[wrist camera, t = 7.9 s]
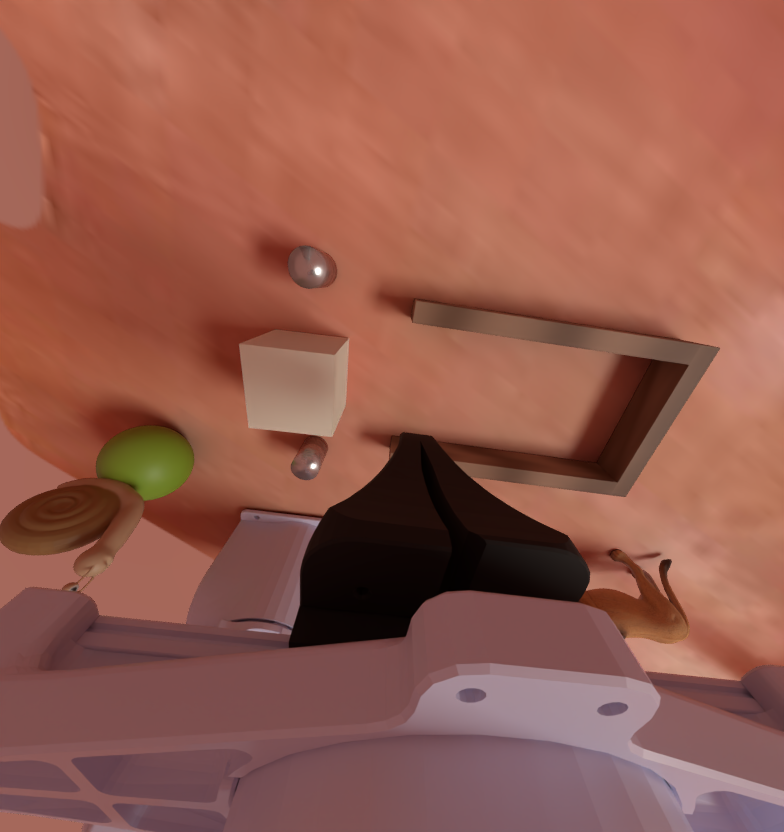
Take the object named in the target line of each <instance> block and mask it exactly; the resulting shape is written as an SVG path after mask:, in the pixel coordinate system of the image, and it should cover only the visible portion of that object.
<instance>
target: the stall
mask: <svg viewBox="0 0 784 832" xmlns="http://www.w3.org/2000/svg"><path fill="white" fill-rule="evenodd" d="M411 320H412V323H417V324H424V325H430V326H437V327H443V328H450V329H457V330H463V331H470V332H476V333H483V334H490V335H496V336H503V337H509V338H516V339H523V340H529V341H536V342H542V343H549V344H556V345H562V346H569V347H575V348H582V349H589V350H595V351H602V352H608V353H615V354H622V355H628V356H635V357H641V358H648V359H653V361H652V362H651V364H650V366H649V368H648V370H647V372H646V373H645V375H644V377H643V379H642V381H641V383H640V384H639V386H638V388H637V390H636V392H635V394H634V395H633V397H632V399H631V401H630V403H629V405H628V406H627V408H626V410H625V412H624V414H623V416H622V417H621V419H620V421H619V423H618V425H617V427H616V428H615V430H614V432H613V434H612V436H611V438H610V439H609V441H608V443H607V445H606V447H605V449H604V450H603V452H602V454H601V456H600V458H599V460H598V461H597V463H592V462H585V461H577V460H570V459H563V458H555V457H548V456H540V455H533V454H525V453H518V452H510V451H503V450H496V449H488V448H481V447H473V446H466V445H458V444H451V443H443V442H437V443H438V444H439V445H440V446H441V447H442V449H443V450H444V451H445V452H446V453H447V454H448V456H449V457H450V458H451V459H452V460H453V461H454V462H455V463H456V464H457V465H458V466H459V467H460V468H461V469H462V470H463V471H464V472H465V473H466V474H467V475H468V476H469V477H475V478H482V479H490V480H498V481H505V482H513V483H521V484H529V485H536V486H544V487H552V488H559V489H567V490H575V491H583V492H590V493H598V494H606V495H613V496H621V497H626V495H627V494H628V492H629V491H630V489H631V488H632V486H633V484H634V483H635V481H636V480H637V478H638V477H639V475H640V473H641V472H642V470H643V469H644V467H645V466H646V464H647V462H648V461H649V459H650V458H651V456H652V455H653V453H654V451H655V450H656V448H657V447H658V445H659V444H660V442H661V440H662V439H663V437H664V436H665V434H666V433H667V431H668V430H669V428H670V426H671V425H672V423H673V422H674V420H675V419H676V417H677V415H678V414H679V412H680V411H681V409H682V408H683V406H684V404H685V403H686V401H687V400H688V398H689V397H690V395H691V393H692V392H693V390H694V389H695V387H696V386H697V384H698V383H699V381H700V379H701V378H702V376H703V375H704V373H705V372H706V370H707V368H708V367H709V365H710V364H711V362H712V361H713V359H714V357H715V356H716V354H717V353H718V351H719V350H720V348H718V347H714V346H709V345H704V344H699V343H694V342H689V341H684V340H679V339H672V338H666V337H659V336H653V335H646V334H640V333H633V332H627V331H621V330H614V329H608V328H601V327H595V326H588V325H582V324H575V323H569V322H563V321H556V320H550V319H543V318H537V317H530V316H524V315H517V314H511V313H505V312H498V311H492V310H485V309H479V308H472V307H466V306H459V305H453V304H447V303H440V302H434V301H427V300H421V299H414V301H413V308H412V314H411ZM399 439H400V437H399V436H392V437H391V443H390V452H389V460H390V458H391V457H392V455H393V454H394V452H395V450H396V448H397V446H398V444H399Z"/></svg>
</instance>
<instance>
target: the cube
mask: <svg viewBox="0 0 784 832" xmlns="http://www.w3.org/2000/svg"><path fill="white" fill-rule="evenodd" d="M239 349H240V358H241V366H242V375H243V383H244V392H245V400H246V409H247V417H248V426H249V428H256V429H265V430H274V431H283V432H292V433H301V434H310V435H319V436H328V437H332V436H333V434H334V432H335V429H336V427H337V424H338V422H339V420H340V417H341V415H342V413H343V410H344V408H345V406H346V391H347V371H348V351H349V338H343V337H335V336H327V335H319V334H310V333H302V332H294V331H286V330H277V329H275V330H273V331H270V332H268V333H265V334H262V335H260V336H257V337H255V338H252V339H250V340H247V341H245V342H242V343H240V344H239Z"/></svg>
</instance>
